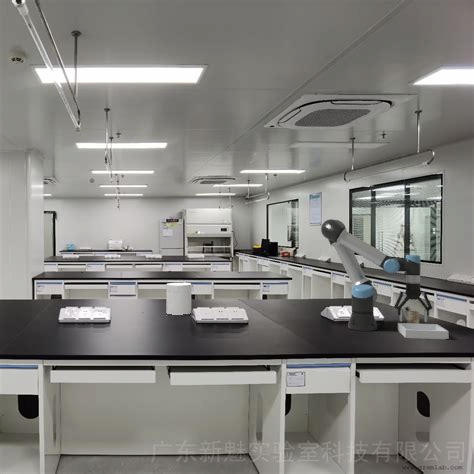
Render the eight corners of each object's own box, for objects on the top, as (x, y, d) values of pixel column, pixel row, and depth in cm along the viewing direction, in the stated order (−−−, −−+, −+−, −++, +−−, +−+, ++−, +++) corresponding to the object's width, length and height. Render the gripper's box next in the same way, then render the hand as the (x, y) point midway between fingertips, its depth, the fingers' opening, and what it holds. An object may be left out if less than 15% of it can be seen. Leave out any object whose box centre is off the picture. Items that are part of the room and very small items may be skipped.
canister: (161, 315, 276) (161, 284, 276) (177, 311, 289) (177, 282, 290) (180, 317, 267) (180, 285, 268) (196, 314, 281) (196, 283, 281)
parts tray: (405, 338, 213) (405, 330, 213) (397, 330, 231) (397, 323, 231) (448, 339, 210) (448, 331, 210) (437, 331, 228) (437, 324, 228)
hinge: (418, 324, 248) (412, 307, 249) (410, 326, 249) (404, 310, 250) (415, 319, 264) (409, 303, 265) (407, 321, 265) (401, 305, 266)
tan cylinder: (409, 328, 236) (409, 312, 236) (407, 326, 241) (407, 310, 241) (419, 328, 235) (419, 312, 235) (416, 327, 240) (416, 311, 240)
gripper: (391, 283, 236) (391, 322, 236) (438, 283, 233) (438, 323, 233) (388, 281, 244) (388, 319, 244) (434, 282, 240) (434, 320, 240)
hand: (413, 321), depth 238 cm, fingers open, 12 cm apart
